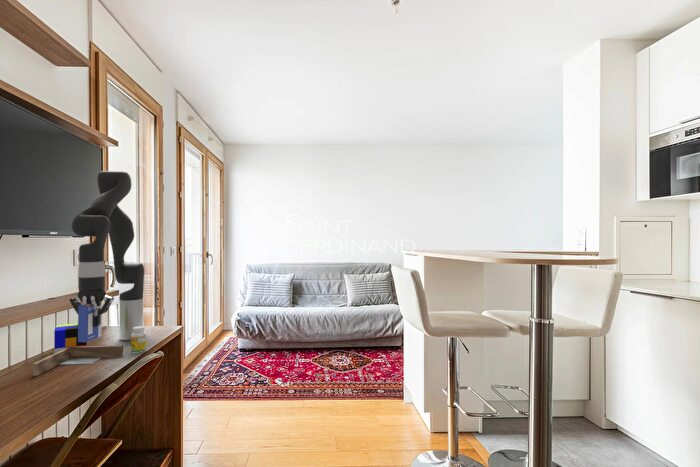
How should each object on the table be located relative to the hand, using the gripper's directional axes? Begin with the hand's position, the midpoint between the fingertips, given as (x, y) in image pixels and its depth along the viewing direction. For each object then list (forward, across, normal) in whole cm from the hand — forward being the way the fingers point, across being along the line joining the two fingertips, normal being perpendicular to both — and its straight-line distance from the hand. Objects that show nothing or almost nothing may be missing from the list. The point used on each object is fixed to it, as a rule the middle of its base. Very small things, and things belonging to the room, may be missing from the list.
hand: (92, 326), depth 133 cm
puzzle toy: (+16, +20, -23) cm, 34 cm away
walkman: (+4, +1, 0) cm, 4 cm away
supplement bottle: (+15, -6, -21) cm, 26 cm away
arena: (+15, +7, -6) cm, 18 cm away
